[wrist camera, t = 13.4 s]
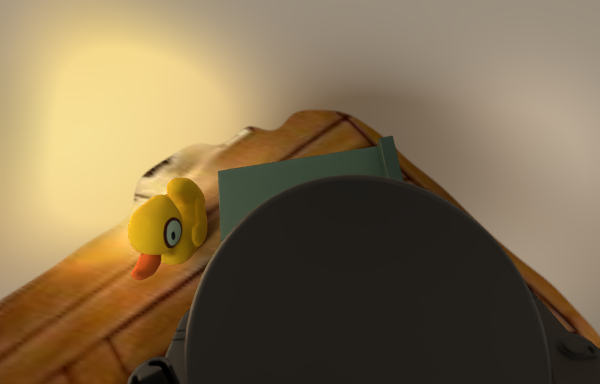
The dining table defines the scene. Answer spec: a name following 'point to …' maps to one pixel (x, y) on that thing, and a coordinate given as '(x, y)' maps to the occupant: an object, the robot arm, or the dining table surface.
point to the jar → (363, 294)
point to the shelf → (297, 177)
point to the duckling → (168, 227)
